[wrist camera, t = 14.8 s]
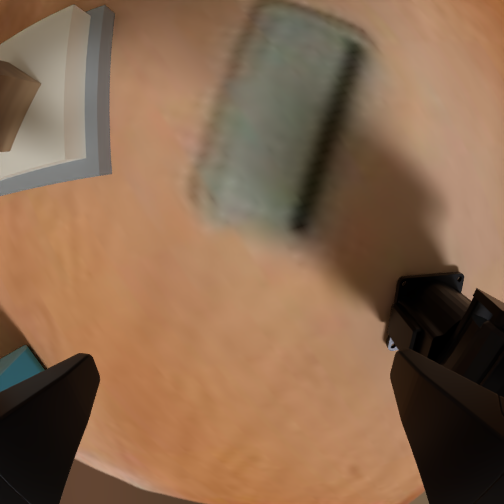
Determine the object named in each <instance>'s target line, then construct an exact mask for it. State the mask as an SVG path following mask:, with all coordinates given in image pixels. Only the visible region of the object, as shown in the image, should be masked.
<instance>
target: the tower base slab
mask: <svg viewBox="0 0 504 504" xmlns="http://www.w3.org/2000/svg"><path fill="white" fill-rule="evenodd" d="M86 13H87V14H89V15H90V16H91V19H90V27H89V36H88V46H87V58H86V74H85V144H86V158H84V159H80V160H75V161H71V162H66V163H62V164H58V165H54V166H50V167H46V168H42V169H38V170H35V171H31V172H28V173H24V174H21V175H17V176H14V177H11V178H7V179H4V180H1V181H0V196H2V195H6V194H10V193H14V192H19V191H23V190H27V189H32V188H36V187H41V186H46V185H51V184H56V183H61V182H66V181H72V180H77V179H83V178H89V177H95V176H101V175H108V174H112V167H111V150H110V120H109V93H110V64H111V48H112V36H113V26H114V17H115V13H114V12H113V11H111V10H110V9H109V8H108V7H107V6H106V5H103V6H100V7H97V8H95V9H92V10H89V11H87V12H86Z"/></svg>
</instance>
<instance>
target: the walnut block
mask: <svg viewBox="0 0 504 504" xmlns="http://www.w3.org/2000/svg"><path fill="white" fill-rule="evenodd" d="M40 86H41V83H39V82H38V81H36V80H35V79H33V78H32V77H30V76H29V75H27V74H26V73H24V72H23V71H21V70H20V69H18V68H17V67H15V66H14V65H12V64H11V63H9V62H5V61H1V60H0V152H10V150H11V148H12V145H13V143H14V140H15V138H16V135H17V133H18V131H19V128H20V126H21V124H22V122H23V119H24V117H25V115H26V113H27V111H28V109H29V107H30V105H31V103H32V101H33V99H34V97H35V95H36V93H37V91H38V89H39V87H40Z"/></svg>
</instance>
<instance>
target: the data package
mask: <svg viewBox="0 0 504 504" xmlns="http://www.w3.org/2000/svg"><path fill="white" fill-rule="evenodd" d="M44 370H45V369H44V368H43V367H42V365H41V364H40V363H39V362H38V360H37V359H36V357H35V356H34V355H33V353H32V352H31V351H30V349H29V348H28V346H27V345H24V346H22V347H20V348H18V349H17V350H15V351H13V352H12V353H10V354H8V355H6V356H5V357H3V358H1V359H0V392H1V391H3V390H5V389H7V388H9V387H11V386H13V385H16V384H18V383H20V382H22V381H24V380H26V379H28V378H30V377H32V376H34V375H36V374H38V373H40V372H42V371H44Z"/></svg>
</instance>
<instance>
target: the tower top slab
mask: <svg viewBox="0 0 504 504" xmlns="http://www.w3.org/2000/svg"><path fill="white" fill-rule="evenodd" d="M90 19H91V16H90V15H89V14H87V13H86V12H84V11H83V10H82V9H80V8H79V7H77V6H76V5H74V4H73V5H71V6H69V7H67V8H64V9H62V10H60V11H58V12H56V13H54V14H52V15H50V16H48V17H46V18H44V19H42V20H40V21H38V22H36V23H35V24H33V25H31V26H29V27H28V28H26V29H24V30H22V31H21V32H19V33H17V34H16V35H14V36H12V37H11V38H9V39H8V40H6V41H5V42H3V43H2V44H0V60H1V61H5V62H9V63H11V64H12V65H14V66H15V67H17V68H18V69H20V70H21V71H23V72H24V73H26V74H27V75H29V76H30V77H32V78H33V79H35V80H36V81H38V82H39V83H41V86H40V87H39V89H38V91H37V93H36V95H35V97H34V99H33V101H32V103H31V105H30V107H29V109H28V111H27V113H26V115H25V117H24V119H23V122H22V124H21V126H20V128H19V131H18V133H17V135H16V138H15V140H14V143H13V145H12V148H11V150H10V152H0V181H1V180H4V179H7V178H11V177H14V176H17V175H21V174H24V173H28V172H31V171H35V170H38V169H42V168H46V167H50V166H54V165H58V164H62V163H66V162H71V161H75V160H80V159H84V158H86V144H85V74H86V58H87V46H88V36H89V27H90Z"/></svg>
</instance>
